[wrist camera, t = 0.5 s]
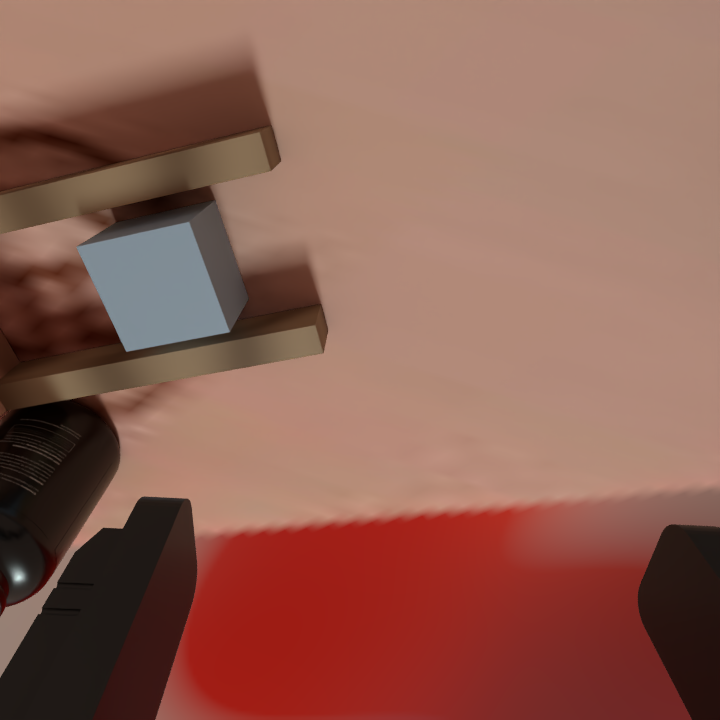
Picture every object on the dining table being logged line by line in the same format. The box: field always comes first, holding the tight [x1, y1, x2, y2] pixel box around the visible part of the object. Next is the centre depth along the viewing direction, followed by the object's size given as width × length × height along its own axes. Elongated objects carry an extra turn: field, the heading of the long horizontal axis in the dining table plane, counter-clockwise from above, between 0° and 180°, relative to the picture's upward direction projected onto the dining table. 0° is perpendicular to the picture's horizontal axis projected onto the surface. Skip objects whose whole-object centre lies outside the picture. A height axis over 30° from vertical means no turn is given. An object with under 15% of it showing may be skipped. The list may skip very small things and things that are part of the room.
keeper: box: [77, 200, 249, 352], centre depth 25 cm, size 5×5×4 cm
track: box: [0, 126, 328, 416], centre depth 26 cm, size 20×10×4 cm, turn 103°
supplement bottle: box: [0, 400, 120, 616], centre depth 27 cm, size 7×7×12 cm
